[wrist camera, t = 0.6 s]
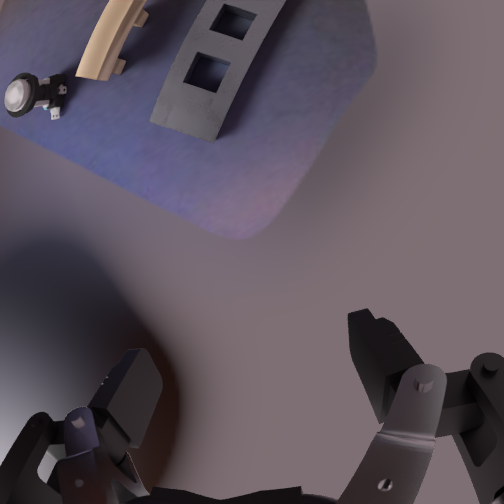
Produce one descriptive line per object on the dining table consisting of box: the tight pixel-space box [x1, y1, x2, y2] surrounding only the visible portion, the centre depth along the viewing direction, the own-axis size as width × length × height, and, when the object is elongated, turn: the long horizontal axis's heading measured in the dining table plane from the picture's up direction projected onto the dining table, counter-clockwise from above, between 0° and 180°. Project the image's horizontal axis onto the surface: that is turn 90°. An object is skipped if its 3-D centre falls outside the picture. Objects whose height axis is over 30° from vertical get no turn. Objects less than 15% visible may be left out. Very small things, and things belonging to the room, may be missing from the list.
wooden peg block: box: [76, 0, 149, 81], centre depth 20 cm, size 3×11×7 cm, turn 156°
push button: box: [5, 73, 66, 120], centre depth 21 cm, size 7×5×10 cm
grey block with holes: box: [149, 0, 286, 144], centre depth 24 cm, size 8×22×3 cm, turn 156°
